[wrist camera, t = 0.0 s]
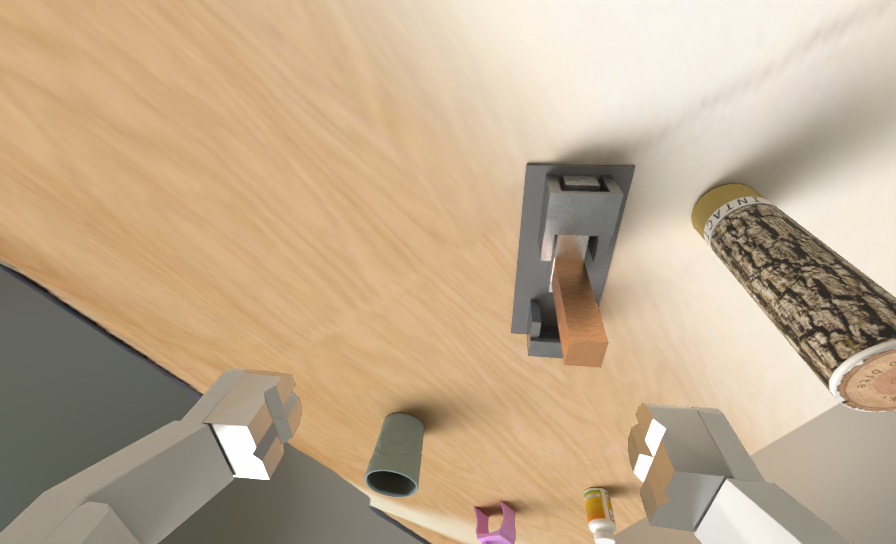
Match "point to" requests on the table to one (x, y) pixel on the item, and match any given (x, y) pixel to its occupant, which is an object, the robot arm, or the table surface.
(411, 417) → the grey-green cup
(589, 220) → the grey u-shaped block
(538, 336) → the socket
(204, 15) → the table surface
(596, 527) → the supplement bottle
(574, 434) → the table surface
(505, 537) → the toy chair
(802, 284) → the paper tube
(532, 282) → the grey rectangular plate
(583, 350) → the brown piece
